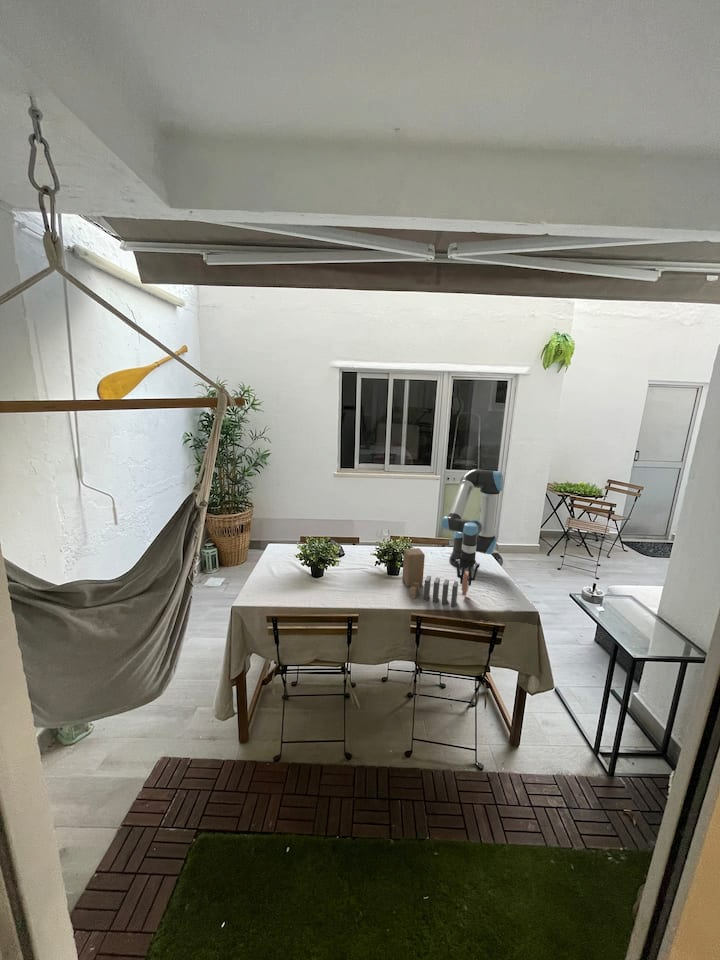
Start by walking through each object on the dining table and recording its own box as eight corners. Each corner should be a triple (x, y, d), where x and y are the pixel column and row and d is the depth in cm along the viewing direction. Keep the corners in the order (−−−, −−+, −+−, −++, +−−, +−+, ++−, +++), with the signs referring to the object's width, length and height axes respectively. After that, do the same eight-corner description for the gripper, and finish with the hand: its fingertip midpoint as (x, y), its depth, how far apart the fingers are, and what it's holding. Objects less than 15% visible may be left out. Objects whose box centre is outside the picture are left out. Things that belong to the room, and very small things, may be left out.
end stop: (413, 591, 233) (414, 581, 232) (418, 592, 232) (419, 582, 230) (409, 597, 226) (410, 587, 224) (414, 599, 225) (415, 589, 223)
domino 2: (432, 602, 222) (433, 582, 219) (434, 597, 227) (436, 577, 225) (435, 602, 221) (437, 582, 218) (438, 597, 227) (439, 578, 224)
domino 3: (441, 604, 220) (443, 584, 217) (443, 599, 226) (445, 579, 223) (445, 605, 219) (446, 584, 217) (447, 599, 225) (449, 580, 222)
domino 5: (461, 595, 226) (463, 575, 223) (463, 590, 231) (465, 570, 228) (465, 596, 225) (467, 576, 222) (467, 590, 230) (469, 571, 227)
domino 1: (423, 600, 224) (424, 580, 221) (425, 595, 229) (427, 575, 226) (426, 600, 223) (428, 580, 220) (429, 595, 229) (431, 576, 226)
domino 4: (450, 606, 218) (452, 586, 216) (452, 601, 224) (454, 581, 221) (454, 607, 218) (456, 586, 215) (456, 601, 223) (458, 581, 220)
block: (406, 587, 237) (408, 555, 233) (401, 579, 247) (403, 548, 242) (423, 585, 239) (425, 554, 235) (417, 578, 249) (419, 547, 244)
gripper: (453, 551, 221) (450, 590, 227) (482, 556, 216) (477, 596, 222) (455, 545, 228) (452, 583, 234) (483, 550, 222) (479, 589, 228)
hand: (464, 589), depth 228 cm, fingers closed on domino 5, 2 cm apart
